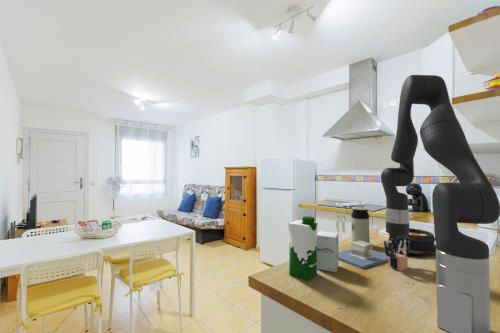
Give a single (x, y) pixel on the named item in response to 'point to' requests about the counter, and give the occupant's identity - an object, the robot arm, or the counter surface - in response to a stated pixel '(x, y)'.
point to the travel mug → (360, 224)
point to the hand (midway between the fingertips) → (397, 266)
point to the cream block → (361, 249)
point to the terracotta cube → (400, 262)
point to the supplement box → (327, 251)
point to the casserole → (421, 242)
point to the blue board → (362, 259)
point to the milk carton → (303, 248)
